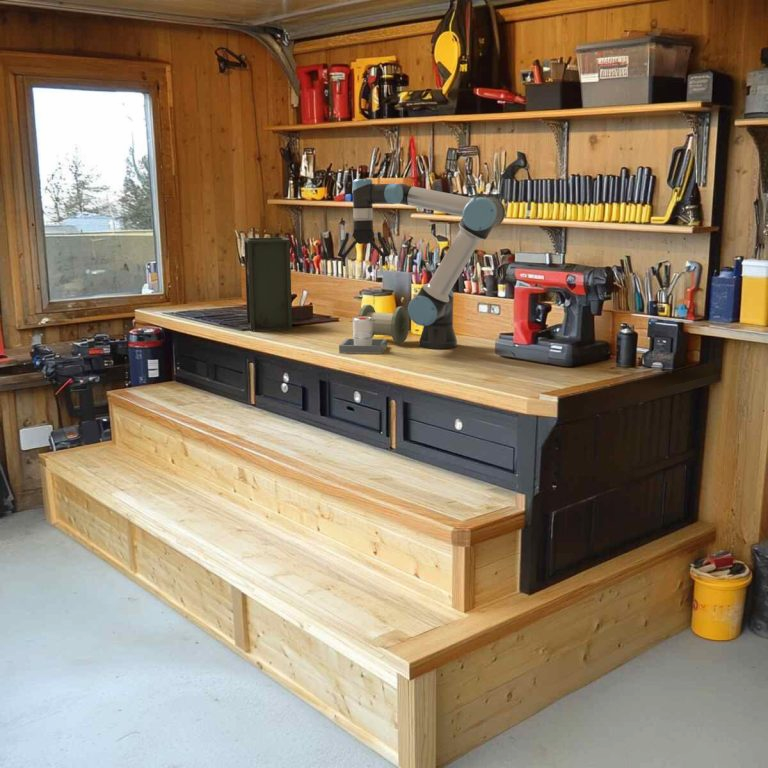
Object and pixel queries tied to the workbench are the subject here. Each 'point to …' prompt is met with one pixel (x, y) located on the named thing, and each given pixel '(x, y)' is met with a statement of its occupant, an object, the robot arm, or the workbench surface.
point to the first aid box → (268, 283)
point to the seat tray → (363, 347)
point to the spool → (388, 322)
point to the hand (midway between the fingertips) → (364, 274)
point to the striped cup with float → (362, 330)
